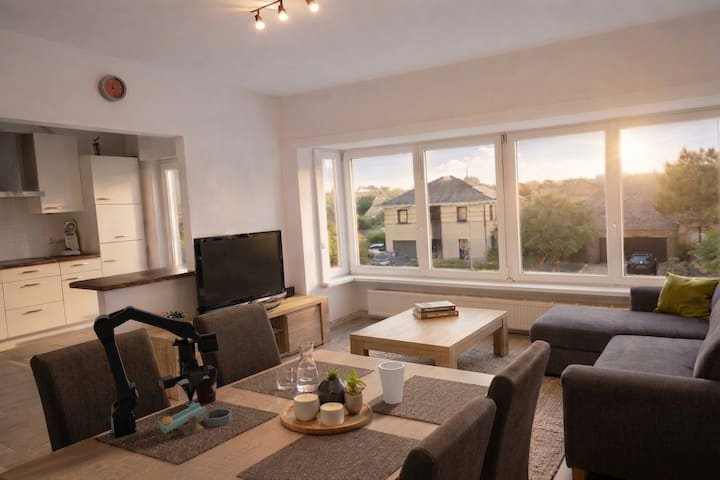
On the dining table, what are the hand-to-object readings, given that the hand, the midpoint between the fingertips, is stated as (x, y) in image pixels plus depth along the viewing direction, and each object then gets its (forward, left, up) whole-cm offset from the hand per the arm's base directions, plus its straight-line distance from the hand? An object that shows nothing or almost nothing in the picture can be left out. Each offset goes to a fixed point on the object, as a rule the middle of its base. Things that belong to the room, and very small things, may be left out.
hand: (190, 400), depth 183 cm
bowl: (+6, -9, -6) cm, 12 cm away
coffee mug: (+12, +12, -6) cm, 19 cm away
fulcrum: (-7, -9, -6) cm, 13 cm away
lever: (-6, -4, -3) cm, 8 cm away
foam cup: (+59, -39, -6) cm, 71 cm away
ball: (-11, -9, -1) cm, 14 cm away
